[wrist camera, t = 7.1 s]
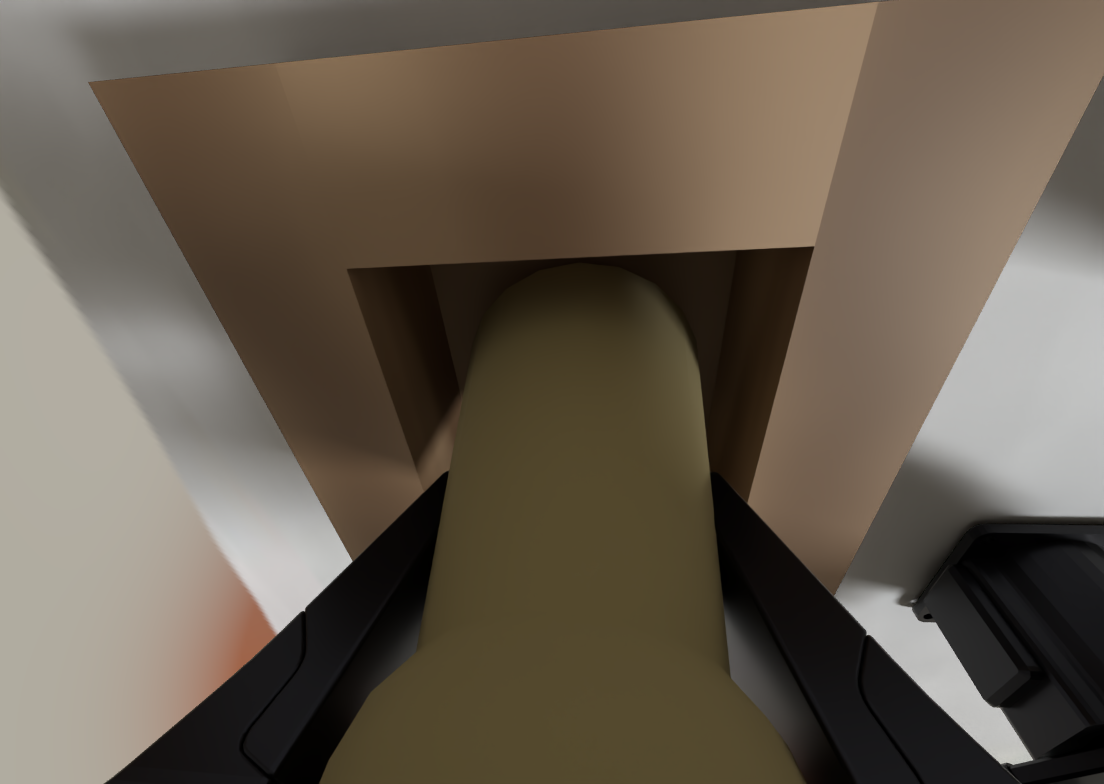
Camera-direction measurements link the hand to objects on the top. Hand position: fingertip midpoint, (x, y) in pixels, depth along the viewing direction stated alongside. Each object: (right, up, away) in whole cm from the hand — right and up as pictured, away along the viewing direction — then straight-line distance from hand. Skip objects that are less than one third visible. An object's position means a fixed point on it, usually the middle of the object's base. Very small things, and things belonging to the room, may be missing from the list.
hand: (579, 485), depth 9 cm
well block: (0, +4, +5) cm, 6 cm away
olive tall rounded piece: (0, +2, +3) cm, 4 cm away
